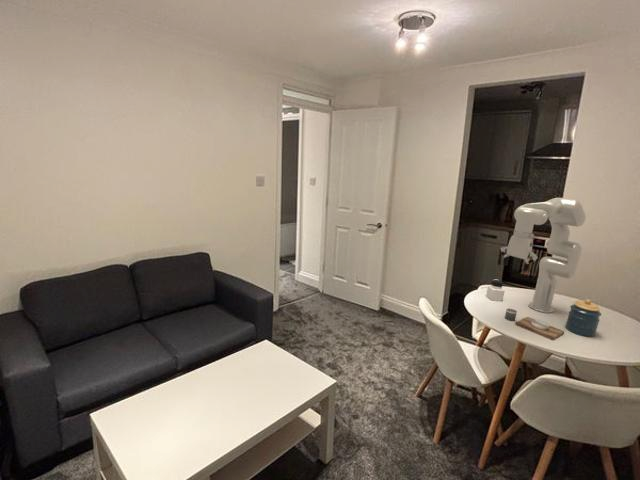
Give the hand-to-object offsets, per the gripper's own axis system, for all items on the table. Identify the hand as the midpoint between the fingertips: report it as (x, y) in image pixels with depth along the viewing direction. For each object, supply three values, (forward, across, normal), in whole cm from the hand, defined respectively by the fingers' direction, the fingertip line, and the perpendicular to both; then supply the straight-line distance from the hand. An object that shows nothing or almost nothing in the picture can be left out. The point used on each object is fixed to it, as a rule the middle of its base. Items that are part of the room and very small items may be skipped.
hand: (515, 268), depth 175 cm
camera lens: (+31, +2, -12) cm, 34 cm away
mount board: (+31, -12, -14) cm, 36 cm away
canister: (+31, -24, -33) cm, 51 cm away
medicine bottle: (+31, +22, -33) cm, 51 cm away
